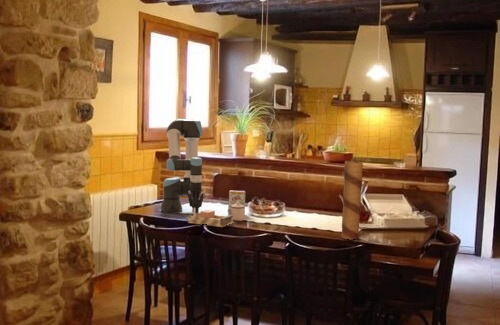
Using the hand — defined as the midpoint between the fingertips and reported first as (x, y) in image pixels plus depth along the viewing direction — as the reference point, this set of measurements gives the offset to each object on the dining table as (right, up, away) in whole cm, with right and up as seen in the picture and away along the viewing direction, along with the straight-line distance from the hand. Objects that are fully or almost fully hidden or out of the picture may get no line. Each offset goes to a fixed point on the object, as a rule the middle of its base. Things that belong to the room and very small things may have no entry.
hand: (195, 217), depth 371 cm
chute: (+10, -3, -5) cm, 12 cm away
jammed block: (+8, -1, -4) cm, 9 cm away
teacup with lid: (+26, -2, +10) cm, 28 cm away
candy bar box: (+26, -1, +26) cm, 37 cm away
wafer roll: (+93, -9, -38) cm, 101 cm away
